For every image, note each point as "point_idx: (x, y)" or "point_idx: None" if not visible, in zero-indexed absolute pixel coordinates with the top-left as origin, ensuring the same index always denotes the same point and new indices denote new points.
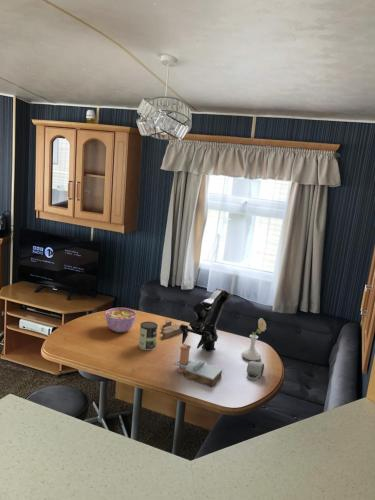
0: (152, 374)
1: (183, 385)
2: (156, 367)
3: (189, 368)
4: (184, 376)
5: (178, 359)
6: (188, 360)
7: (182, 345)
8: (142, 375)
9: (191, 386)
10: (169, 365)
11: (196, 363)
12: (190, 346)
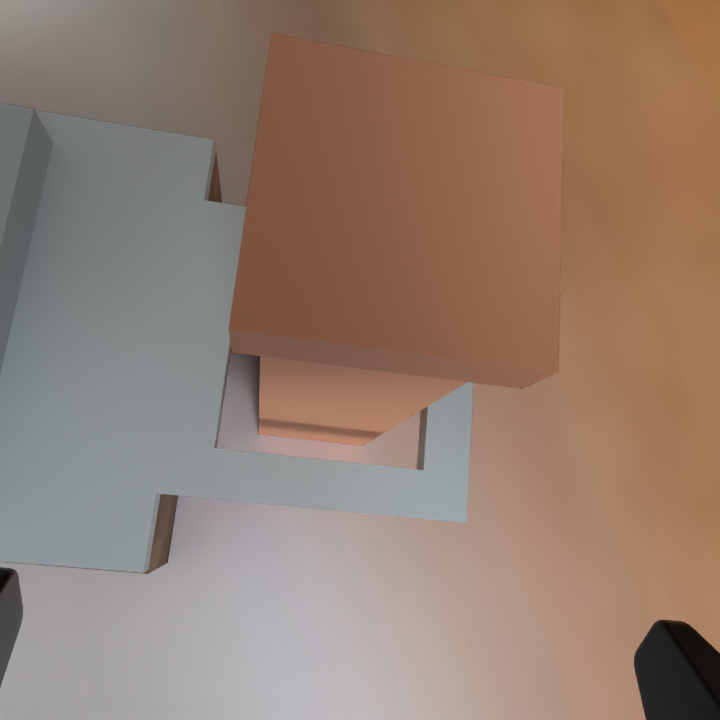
0: (615, 91)
1: (157, 16)
2: (668, 268)
3: (148, 192)
4: (220, 201)
5: (469, 411)
6: (278, 480)
7: (537, 208)
8: (692, 26)
9: (44, 34)
10: (554, 413)
11: (75, 450)
12: (232, 314)
